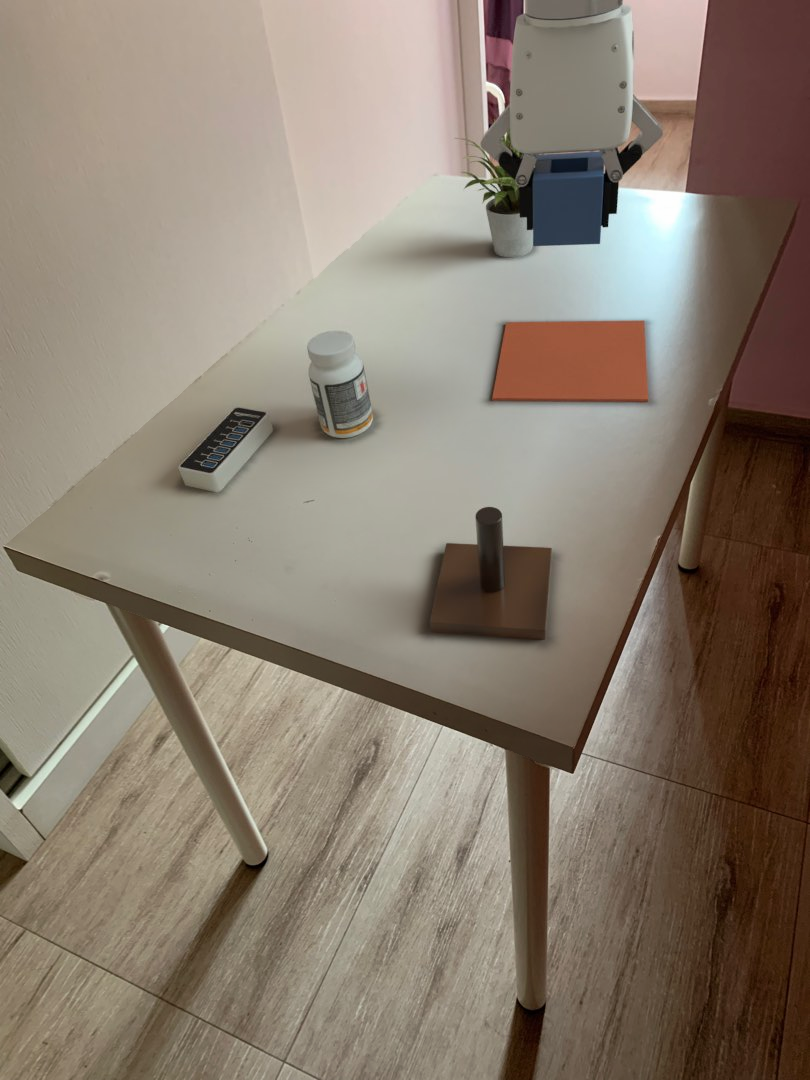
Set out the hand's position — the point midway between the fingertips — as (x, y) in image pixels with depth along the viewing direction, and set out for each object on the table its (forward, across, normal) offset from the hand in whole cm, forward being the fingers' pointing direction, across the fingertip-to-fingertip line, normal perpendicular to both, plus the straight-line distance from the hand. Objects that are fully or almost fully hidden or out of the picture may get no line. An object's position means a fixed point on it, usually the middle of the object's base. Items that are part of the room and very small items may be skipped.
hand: (567, 220), depth 75 cm
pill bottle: (+18, +22, +8) cm, 30 cm away
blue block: (+1, 0, 0) cm, 1 cm away
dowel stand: (+18, +4, +31) cm, 36 cm away
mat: (+18, -1, -4) cm, 18 cm away
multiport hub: (+18, +34, +14) cm, 41 cm away
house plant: (+18, +9, -34) cm, 39 cm away
